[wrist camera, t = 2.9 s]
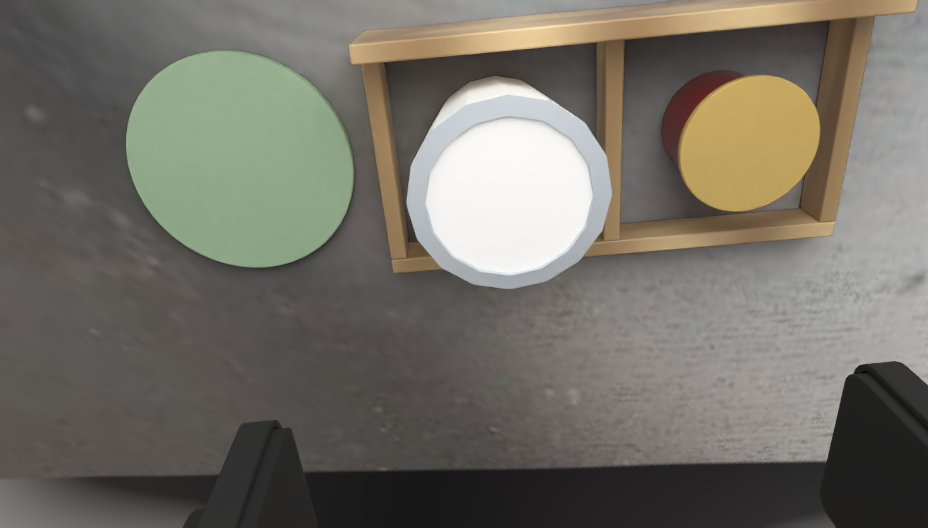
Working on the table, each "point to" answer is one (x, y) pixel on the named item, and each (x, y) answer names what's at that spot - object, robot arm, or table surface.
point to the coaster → (240, 158)
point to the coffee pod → (741, 138)
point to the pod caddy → (706, 10)
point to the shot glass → (507, 186)
